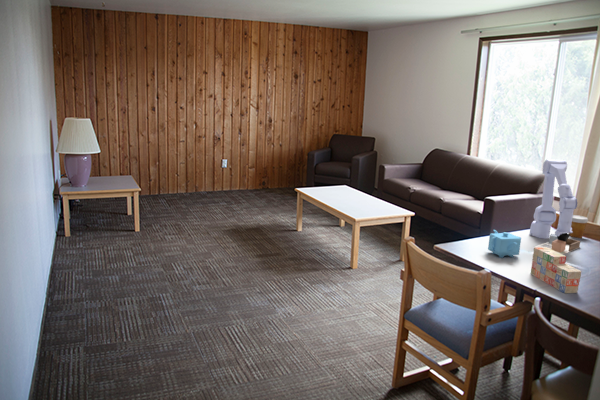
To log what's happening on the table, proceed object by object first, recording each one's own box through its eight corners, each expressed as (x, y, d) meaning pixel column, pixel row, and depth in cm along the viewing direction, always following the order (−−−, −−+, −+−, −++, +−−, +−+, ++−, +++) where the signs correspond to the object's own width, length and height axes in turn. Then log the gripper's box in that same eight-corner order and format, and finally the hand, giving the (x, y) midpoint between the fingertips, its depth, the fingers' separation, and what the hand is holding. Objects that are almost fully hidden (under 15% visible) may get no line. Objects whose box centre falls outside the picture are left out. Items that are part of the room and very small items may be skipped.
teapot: (499, 261, 223) (502, 238, 220) (477, 249, 240) (480, 227, 237) (528, 260, 226) (532, 237, 223) (505, 247, 243) (508, 226, 241)
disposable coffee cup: (583, 237, 267) (587, 216, 264) (585, 241, 258) (589, 220, 256) (564, 234, 271) (568, 214, 268) (565, 238, 262) (569, 217, 259)
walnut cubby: (554, 247, 243) (555, 241, 243) (564, 243, 250) (565, 237, 249) (569, 251, 238) (570, 244, 237) (579, 247, 244) (580, 241, 244)
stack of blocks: (578, 293, 190) (583, 264, 187) (564, 293, 189) (569, 264, 186) (542, 273, 210) (546, 246, 208) (529, 273, 209) (533, 246, 206)
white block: (548, 242, 250) (549, 235, 249) (550, 241, 253) (551, 233, 252) (557, 244, 248) (558, 237, 247) (558, 242, 251) (559, 235, 250)
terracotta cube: (551, 250, 238) (552, 241, 237) (556, 247, 241) (556, 239, 239) (560, 252, 235) (561, 244, 233) (565, 250, 237) (565, 241, 236)
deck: (533, 248, 243) (533, 246, 243) (551, 242, 255) (552, 240, 255) (562, 256, 232) (562, 254, 232) (579, 249, 244) (580, 247, 244)
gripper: (567, 225, 228) (562, 252, 231) (580, 220, 237) (575, 246, 240) (552, 221, 234) (548, 248, 237) (565, 217, 243) (561, 243, 246)
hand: (560, 247), depth 239 cm, fingers closed, pressing on terracotta cube
